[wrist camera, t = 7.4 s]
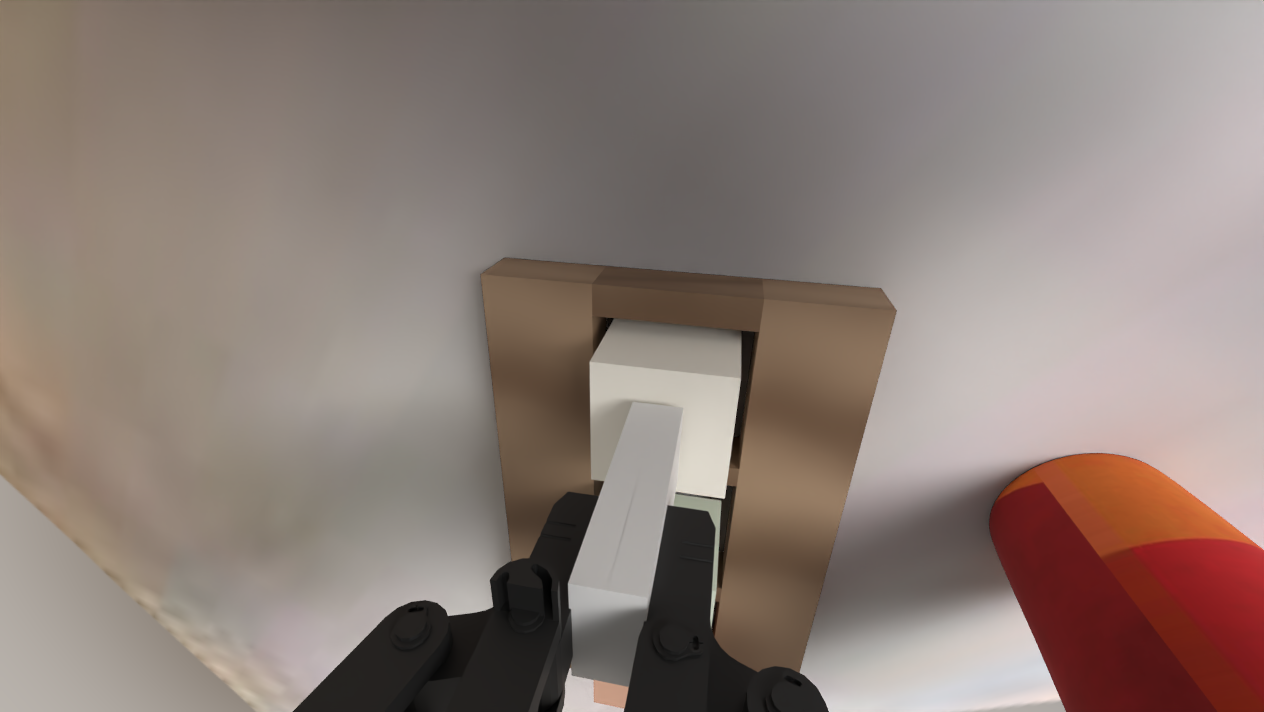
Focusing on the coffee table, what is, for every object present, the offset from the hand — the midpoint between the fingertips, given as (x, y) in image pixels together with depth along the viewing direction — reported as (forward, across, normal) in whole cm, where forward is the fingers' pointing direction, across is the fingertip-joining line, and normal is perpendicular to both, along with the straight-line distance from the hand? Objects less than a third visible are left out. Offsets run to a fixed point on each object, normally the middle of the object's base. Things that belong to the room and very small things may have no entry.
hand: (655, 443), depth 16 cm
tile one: (+4, 0, 0) cm, 4 cm away
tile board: (+5, 0, -6) cm, 8 cm away
